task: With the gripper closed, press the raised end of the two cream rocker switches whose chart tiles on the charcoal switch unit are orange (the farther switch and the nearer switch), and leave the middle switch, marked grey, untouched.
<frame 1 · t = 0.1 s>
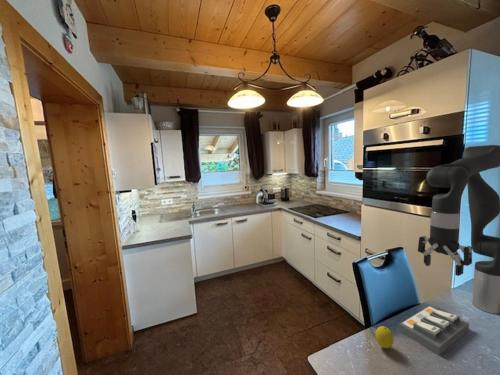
hand: (442, 269, 76), 29 cm above the table, fingers open, 8 cm apart
switch mid: (437, 321, 85), point 5 cm above the table, hinge at 12.0°
switch unit: (433, 330, 87), on the table
lemon: (384, 348, 79), on the table
switch 2: (445, 315, 89), point 5 cm above the table, hinge at 12.0°
switch 1: (427, 327, 82), point 5 cm above the table, hinge at 12.0°
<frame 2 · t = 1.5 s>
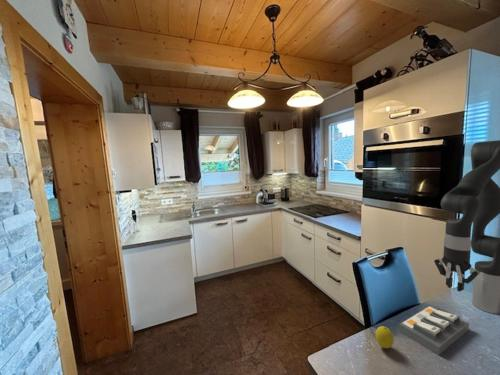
hand: (454, 288, 85), 17 cm above the table, fingers closed
nothing on the table moved.
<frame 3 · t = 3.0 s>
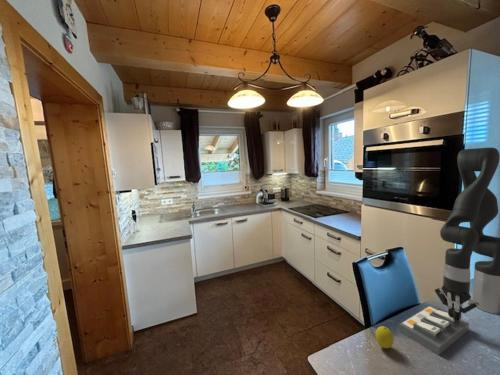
hand: (454, 318, 86), 5 cm above the table, fingers closed
switch 2: (445, 315, 89), point 5 cm above the table, hinge at 11.5°, touching gripper
everything else where it was.
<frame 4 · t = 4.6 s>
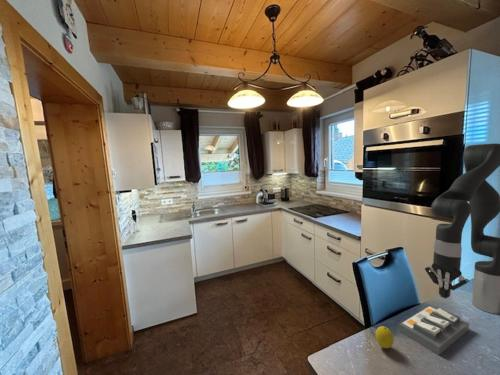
hand: (444, 297, 82), 16 cm above the table, fingers closed
switch 2: (445, 315, 89), point 5 cm above the table, hinge at -8.2°
everything else where it was.
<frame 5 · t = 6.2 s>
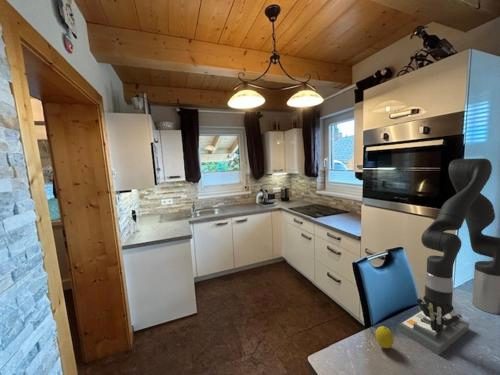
hand: (436, 331, 80), 5 cm above the table, fingers closed
switch 2: (445, 315, 88), point 5 cm above the table, hinge at -19.3°
switch 1: (427, 327, 82), point 5 cm above the table, hinge at 11.0°, touching gripper
everything else where it was.
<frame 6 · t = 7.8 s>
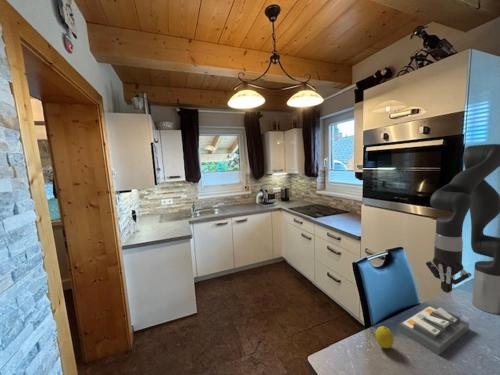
hand: (446, 291, 81), 19 cm above the table, fingers closed
switch 1: (427, 327, 82), point 5 cm above the table, hinge at -5.4°
everything else where it was.
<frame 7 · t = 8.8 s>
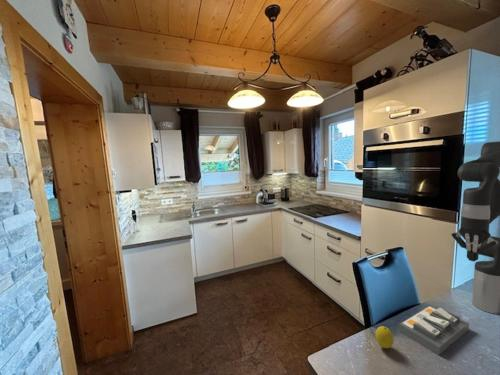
hand: (472, 260, 83), 29 cm above the table, fingers closed
switch 2: (445, 315, 89), point 5 cm above the table, hinge at -17.4°
switch 1: (427, 327, 82), point 5 cm above the table, hinge at -11.7°
everything else where it was.
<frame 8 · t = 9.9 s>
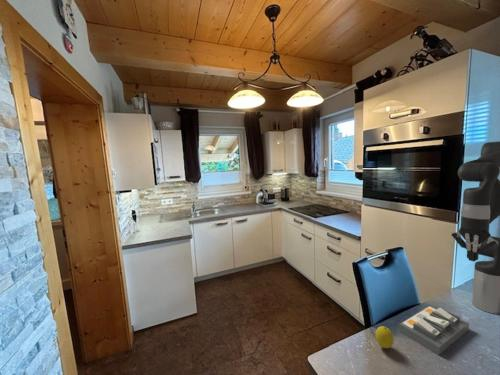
hand: (472, 260, 83), 29 cm above the table, fingers closed
switch 2: (445, 315, 89), point 5 cm above the table, hinge at -16.3°
switch 1: (428, 327, 82), point 5 cm above the table, hinge at -16.2°
everything else where it was.
at the end: switch 2 at -16° (first picture: +12°); switch 1 at -16° (first picture: +12°); switch mid at +12° (first picture: +12°) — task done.
